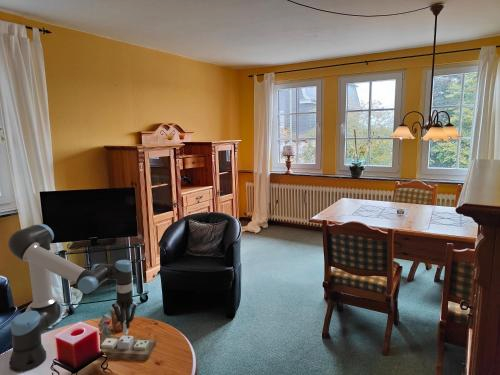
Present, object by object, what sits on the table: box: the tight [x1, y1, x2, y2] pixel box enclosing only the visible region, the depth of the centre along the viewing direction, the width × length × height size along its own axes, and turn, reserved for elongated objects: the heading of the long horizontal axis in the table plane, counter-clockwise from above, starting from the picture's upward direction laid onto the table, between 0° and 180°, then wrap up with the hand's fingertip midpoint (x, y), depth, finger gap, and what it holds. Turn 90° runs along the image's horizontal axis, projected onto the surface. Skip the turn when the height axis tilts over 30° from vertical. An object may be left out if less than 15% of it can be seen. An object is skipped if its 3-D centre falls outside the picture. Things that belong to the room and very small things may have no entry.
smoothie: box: [110, 306, 126, 333], centre depth 194 cm, size 8×8×20 cm
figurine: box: [97, 310, 115, 341], centre depth 186 cm, size 8×8×15 cm
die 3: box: [134, 340, 149, 351], centre depth 175 cm, size 6×6×4 cm
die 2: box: [117, 334, 134, 350], centre depth 175 cm, size 6×6×4 cm
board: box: [99, 336, 157, 361], centre depth 176 cm, size 28×13×3 cm, turn 87°
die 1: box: [101, 338, 118, 349], centre depth 176 cm, size 6×6×4 cm
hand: (125, 333), depth 175 cm, fingers closed
